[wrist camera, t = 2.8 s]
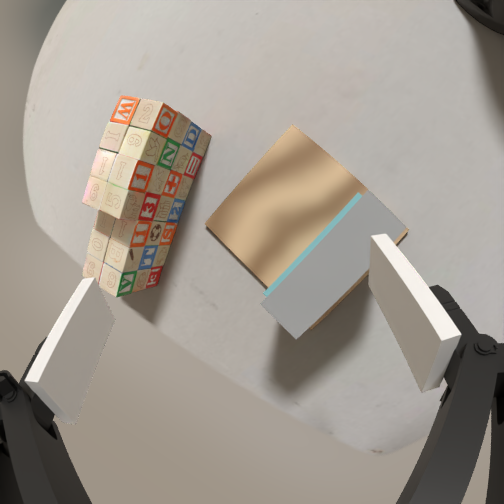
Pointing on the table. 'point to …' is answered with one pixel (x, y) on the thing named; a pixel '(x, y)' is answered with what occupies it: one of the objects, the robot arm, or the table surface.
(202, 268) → the table surface
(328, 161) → the mat
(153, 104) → the stack of blocks
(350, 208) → the block
